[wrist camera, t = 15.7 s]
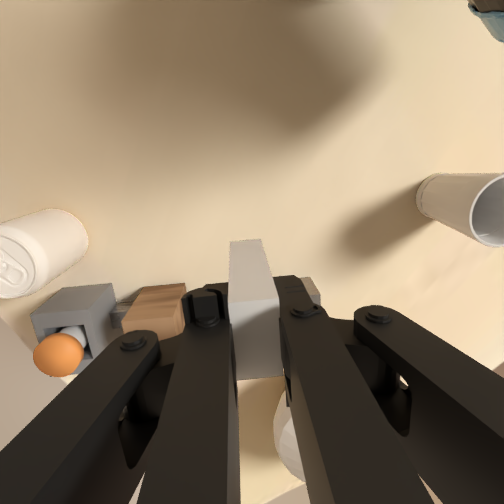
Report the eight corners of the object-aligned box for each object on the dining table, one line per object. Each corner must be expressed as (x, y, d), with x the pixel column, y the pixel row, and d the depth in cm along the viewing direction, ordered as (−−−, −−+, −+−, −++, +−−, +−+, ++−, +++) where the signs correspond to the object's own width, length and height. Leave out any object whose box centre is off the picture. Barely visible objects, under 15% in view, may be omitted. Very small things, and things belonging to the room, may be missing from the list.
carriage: (143, 287, 47) (121, 321, 37) (185, 283, 47) (173, 316, 38) (152, 330, 49) (133, 373, 40) (191, 326, 49) (182, 368, 40)
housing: (62, 287, 47) (29, 314, 39) (111, 283, 47) (88, 309, 39) (78, 343, 50) (50, 379, 42) (124, 339, 50) (105, 373, 42)
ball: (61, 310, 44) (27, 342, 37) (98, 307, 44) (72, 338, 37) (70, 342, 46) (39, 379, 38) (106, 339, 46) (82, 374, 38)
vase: (276, 442, 58) (296, 578, 40) (260, 357, 52) (274, 469, 34) (377, 424, 58) (443, 551, 40) (371, 337, 52) (446, 438, 34)
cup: (421, 233, 47) (481, 260, 36) (401, 185, 45) (459, 197, 33) (472, 205, 46) (551, 224, 35) (455, 155, 44) (532, 157, 33)
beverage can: (50, 194, 43) (-16, 211, 31) (102, 235, 45) (57, 264, 33) (16, 238, 44) (-59, 269, 33) (68, 275, 46) (14, 317, 35)
